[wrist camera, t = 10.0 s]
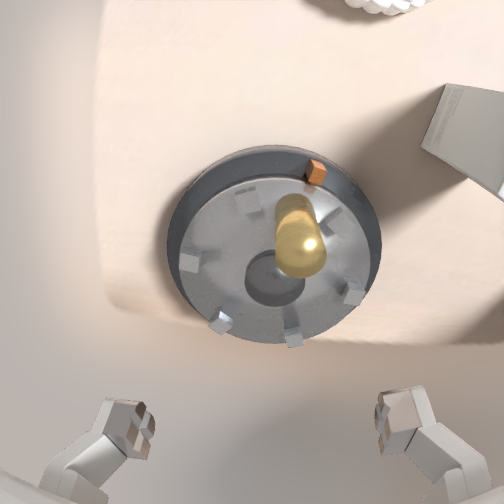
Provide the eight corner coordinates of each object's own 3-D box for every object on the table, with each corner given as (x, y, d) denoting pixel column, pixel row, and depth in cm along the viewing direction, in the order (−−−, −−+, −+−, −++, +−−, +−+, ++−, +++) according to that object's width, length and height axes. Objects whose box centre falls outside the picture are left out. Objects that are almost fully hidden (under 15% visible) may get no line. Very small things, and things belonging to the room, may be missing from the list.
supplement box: (417, 147, 26) (494, 195, 15) (445, 80, 23) (535, 95, 12) (470, 179, 27) (546, 236, 16) (496, 119, 24) (582, 153, 13)
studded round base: (198, 153, 25) (165, 189, 17) (391, 202, 26) (433, 253, 18) (176, 311, 33) (154, 376, 25) (328, 341, 34) (338, 407, 26)
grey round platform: (405, 190, 28) (429, 213, 24) (323, 338, 38) (328, 372, 33) (203, 116, 26) (187, 124, 22) (160, 292, 36) (146, 324, 31)
